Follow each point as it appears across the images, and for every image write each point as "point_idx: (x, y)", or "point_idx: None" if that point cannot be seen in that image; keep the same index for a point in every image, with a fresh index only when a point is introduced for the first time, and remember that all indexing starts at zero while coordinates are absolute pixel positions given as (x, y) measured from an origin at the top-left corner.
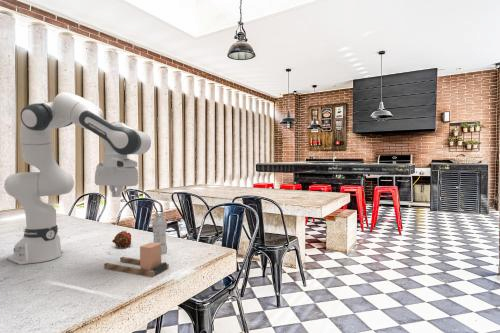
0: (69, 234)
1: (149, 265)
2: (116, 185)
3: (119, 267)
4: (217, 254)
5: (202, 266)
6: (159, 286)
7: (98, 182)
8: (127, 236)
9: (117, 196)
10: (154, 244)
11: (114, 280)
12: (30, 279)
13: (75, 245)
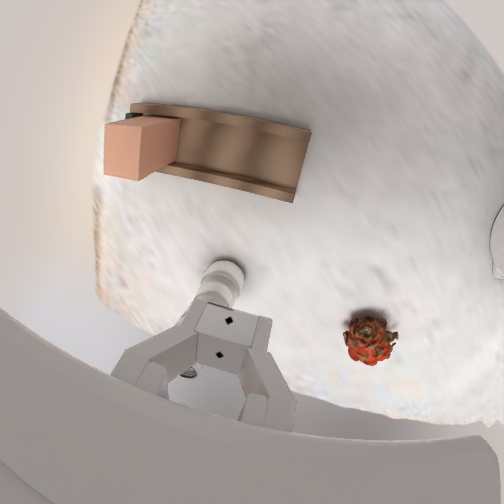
0: (498, 370)
1: (139, 117)
2: (115, 380)
3: (245, 117)
4: (107, 277)
5: (93, 206)
6: (114, 81)
7: (459, 464)
8: (352, 342)
9: (193, 301)
10: (114, 161)
11: (235, 76)
12: (466, 77)
13: (480, 319)
